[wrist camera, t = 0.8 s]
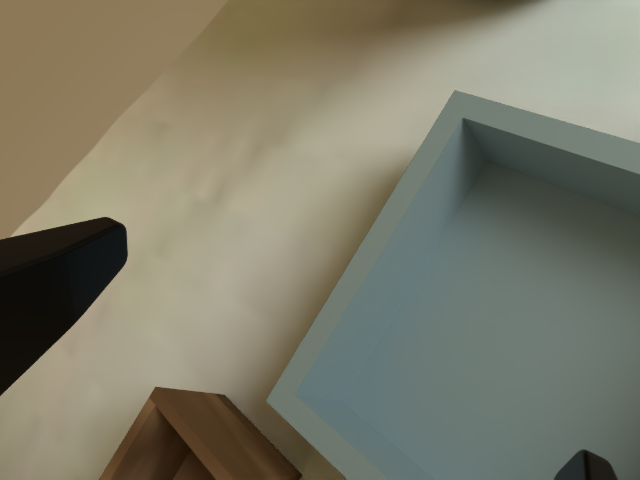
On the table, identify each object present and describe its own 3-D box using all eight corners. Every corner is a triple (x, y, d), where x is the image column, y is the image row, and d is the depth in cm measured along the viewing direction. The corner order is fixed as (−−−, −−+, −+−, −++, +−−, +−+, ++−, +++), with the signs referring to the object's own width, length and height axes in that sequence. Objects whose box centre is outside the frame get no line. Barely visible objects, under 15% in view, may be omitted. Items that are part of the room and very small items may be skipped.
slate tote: (655, 696, 16) (656, 777, 12) (326, 407, 25) (265, 400, 21) (900, 290, 16) (979, 240, 12) (485, 145, 25) (454, 90, 21)
